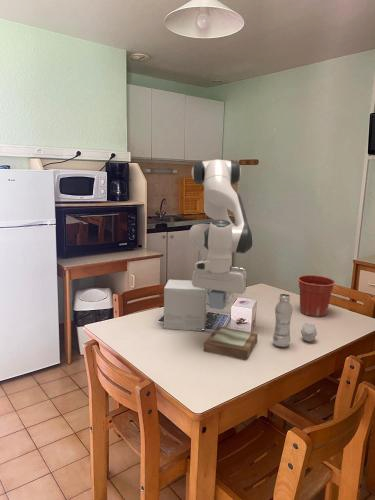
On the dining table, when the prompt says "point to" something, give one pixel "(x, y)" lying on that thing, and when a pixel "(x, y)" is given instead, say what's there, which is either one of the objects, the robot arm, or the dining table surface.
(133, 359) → the dining table surface
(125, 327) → the dining table surface
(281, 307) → the plastic bottle
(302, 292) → the flower pot
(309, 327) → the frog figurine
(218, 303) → the slate block
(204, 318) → the supplement box
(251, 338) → the walnut stand
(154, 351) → the dining table surface
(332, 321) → the dining table surface
